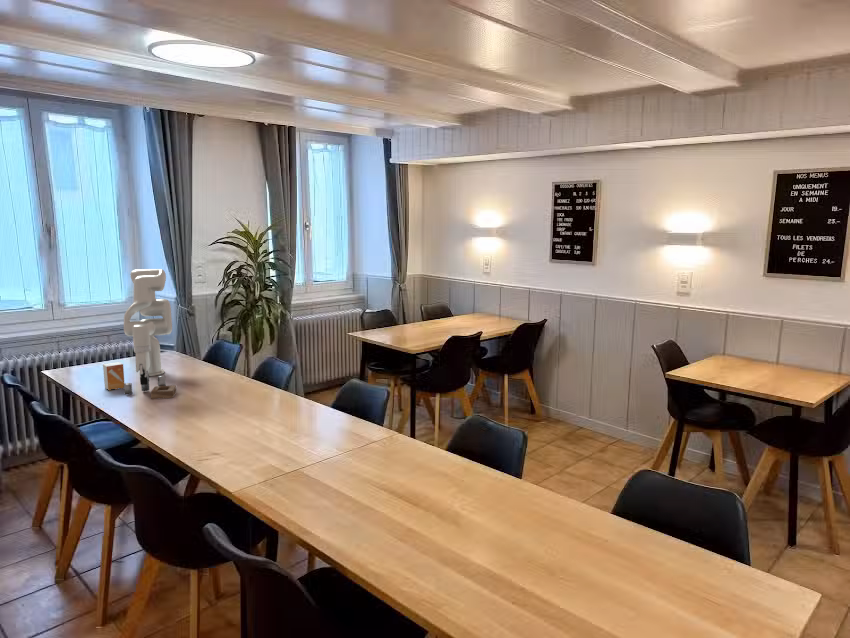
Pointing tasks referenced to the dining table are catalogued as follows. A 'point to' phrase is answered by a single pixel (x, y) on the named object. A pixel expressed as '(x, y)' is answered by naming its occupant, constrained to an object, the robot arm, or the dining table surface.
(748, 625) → the dining table surface
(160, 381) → the medium pin
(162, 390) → the socket block
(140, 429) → the dining table surface
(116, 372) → the small box
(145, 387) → the long pin
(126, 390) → the short pin
